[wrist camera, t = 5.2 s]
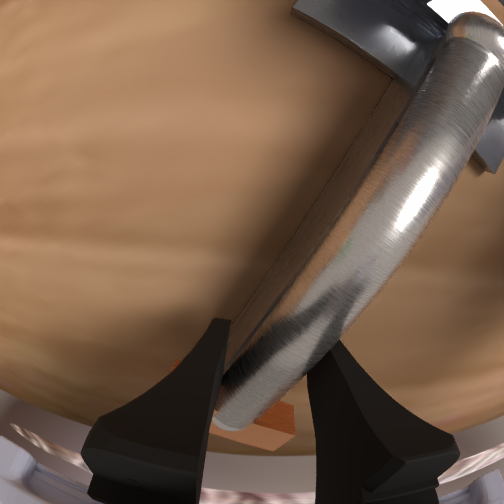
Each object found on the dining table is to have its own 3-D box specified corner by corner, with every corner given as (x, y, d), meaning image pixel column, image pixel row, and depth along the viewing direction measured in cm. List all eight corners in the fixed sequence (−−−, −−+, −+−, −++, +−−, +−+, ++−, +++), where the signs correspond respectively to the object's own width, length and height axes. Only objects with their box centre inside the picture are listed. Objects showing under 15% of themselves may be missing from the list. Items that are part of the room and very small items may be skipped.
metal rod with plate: (514, 84, 7) (558, 85, 4) (272, 415, 14) (273, 459, 12) (411, -20, 6) (447, -47, 3) (165, 374, 13) (150, 419, 11)
